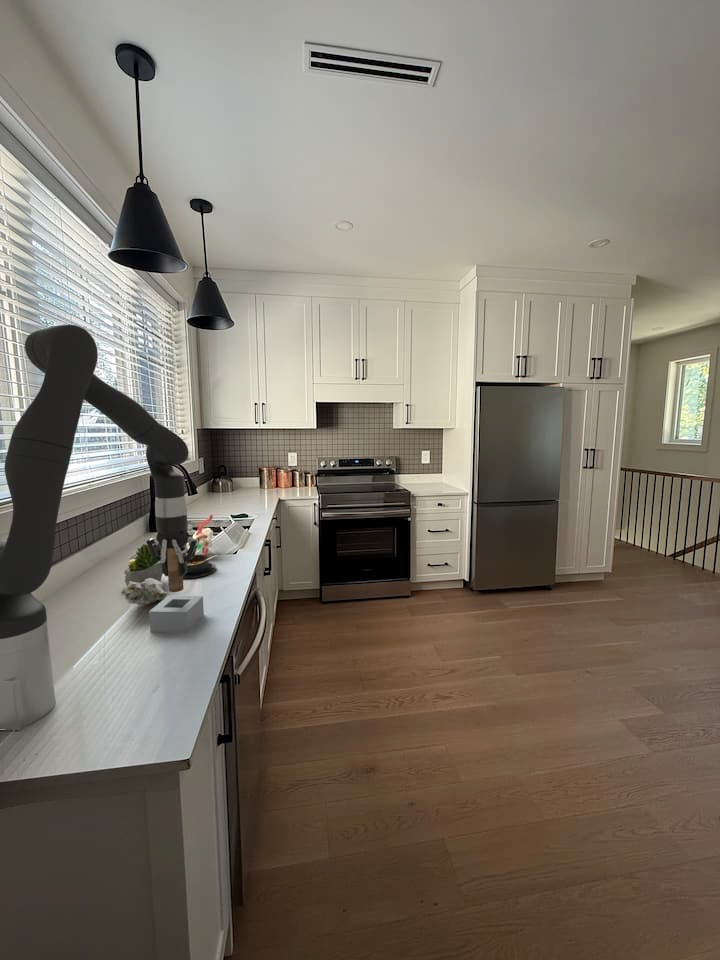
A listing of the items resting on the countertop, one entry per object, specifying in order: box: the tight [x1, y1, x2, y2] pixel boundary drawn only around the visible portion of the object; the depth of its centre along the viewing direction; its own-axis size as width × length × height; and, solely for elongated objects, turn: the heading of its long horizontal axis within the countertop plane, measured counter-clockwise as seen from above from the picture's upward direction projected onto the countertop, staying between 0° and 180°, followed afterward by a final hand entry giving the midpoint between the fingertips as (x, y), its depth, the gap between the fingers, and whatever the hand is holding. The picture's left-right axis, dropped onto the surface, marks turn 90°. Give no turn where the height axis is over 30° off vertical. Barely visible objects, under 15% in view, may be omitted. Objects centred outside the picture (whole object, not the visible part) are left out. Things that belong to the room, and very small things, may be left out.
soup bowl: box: [183, 554, 218, 580], centre depth 147 cm, size 15×16×7 cm
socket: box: [148, 595, 205, 634], centre depth 108 cm, size 10×10×6 cm
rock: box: [120, 578, 168, 607], centre depth 119 cm, size 19×11×10 cm, turn 16°
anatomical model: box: [185, 514, 214, 556], centre depth 164 cm, size 15×11×18 cm
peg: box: [167, 548, 184, 593], centre depth 107 cm, size 4×4×12 cm
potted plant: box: [124, 543, 164, 587], centre depth 134 cm, size 12×13×15 cm
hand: (175, 574), depth 107 cm, fingers closed on peg, 3 cm apart
